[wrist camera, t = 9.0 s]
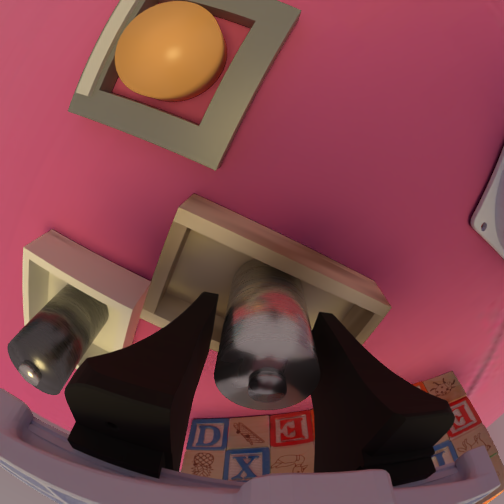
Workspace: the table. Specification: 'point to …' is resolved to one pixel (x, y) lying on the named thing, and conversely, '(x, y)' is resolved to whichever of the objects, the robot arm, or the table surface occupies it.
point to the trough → (240, 251)
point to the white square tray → (83, 287)
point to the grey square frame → (222, 104)
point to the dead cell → (57, 339)
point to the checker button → (171, 52)
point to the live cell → (266, 341)
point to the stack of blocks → (303, 440)
